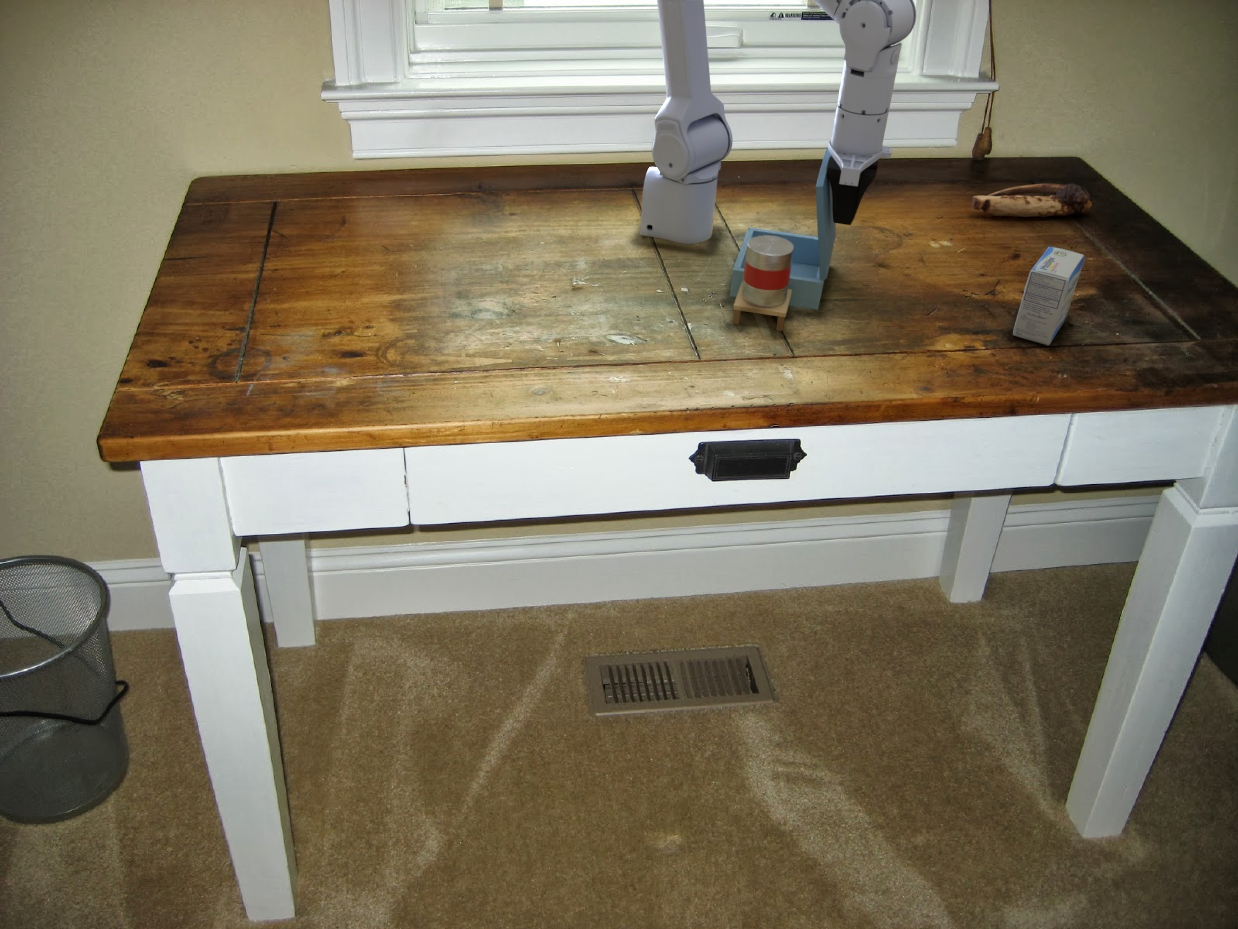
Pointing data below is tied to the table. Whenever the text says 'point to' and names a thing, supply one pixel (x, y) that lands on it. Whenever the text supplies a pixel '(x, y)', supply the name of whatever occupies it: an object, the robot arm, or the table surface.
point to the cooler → (802, 270)
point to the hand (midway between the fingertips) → (842, 221)
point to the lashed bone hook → (1035, 201)
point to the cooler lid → (824, 218)
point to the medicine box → (1048, 295)
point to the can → (767, 271)
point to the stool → (761, 309)
